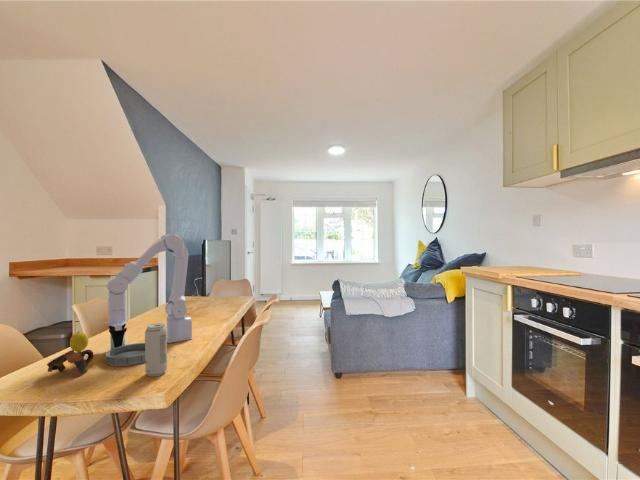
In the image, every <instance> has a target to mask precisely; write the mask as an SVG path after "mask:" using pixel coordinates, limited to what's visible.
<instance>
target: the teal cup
mask: <svg viewBox="0 0 640 480" xmlns="http://www.w3.org/2000/svg"><path fill="white" fill-rule="evenodd" d="M125 334H126V333H125ZM125 334H124V337H123V343H122V346H123V345H126V341H125V340H126V335H125ZM113 348H115V347H114V343H113V338H112V336H111V334H110V350H111V349H113Z"/></svg>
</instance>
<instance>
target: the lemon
mask: <svg viewBox="0 0 640 480" xmlns="http://www.w3.org/2000/svg"><path fill="white" fill-rule="evenodd" d="M88 344H89V337H88V335H87V333H85V332H83V331H80V330H78V331H77V332H75V333H73V334H72V335H71V337H70V339H69V347H70V350H74V352H76V353H80V352H82V351H84V350H86V348H87V347H88Z"/></svg>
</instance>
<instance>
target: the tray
mask: <svg viewBox="0 0 640 480" xmlns="http://www.w3.org/2000/svg"><path fill="white" fill-rule="evenodd" d="M140 364H145V342H136V343H135V342H134V343H128V344H125V345H123V346H120V347H116V348H113V349H111V348H110V350H108V351H106V352H105V365H107V366H109V367H121V368H122V367H128V366H135V365H140Z"/></svg>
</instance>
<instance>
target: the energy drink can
mask: <svg viewBox="0 0 640 480" xmlns="http://www.w3.org/2000/svg"><path fill="white" fill-rule="evenodd" d="M144 343H145V362H144V365H145V367H144V369H145V370H144V372H145V373H146V374H147V375H146V376H147V377H150V378H153V377H159V376H163V375H164V374H165V373H166V371H167V369H168V353H167V352H168V351H167V350H168V349H167V348H168V345H167V344H168V343H167V327H165V324H164V323H160V322H159V323H153V324H152V323H151V324H148V325H147V326H146V330H145V331H144Z"/></svg>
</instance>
